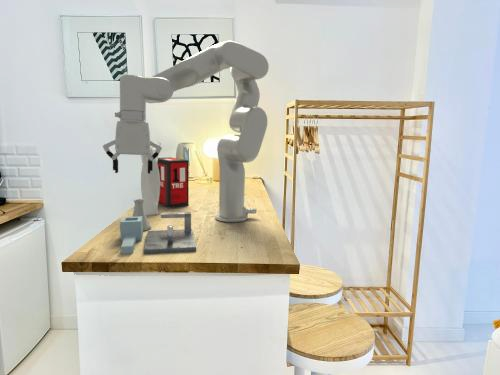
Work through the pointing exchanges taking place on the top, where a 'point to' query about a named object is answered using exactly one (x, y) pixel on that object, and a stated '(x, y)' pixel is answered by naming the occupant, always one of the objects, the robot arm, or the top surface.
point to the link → (130, 233)
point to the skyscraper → (150, 184)
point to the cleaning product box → (173, 182)
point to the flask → (141, 213)
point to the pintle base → (164, 247)
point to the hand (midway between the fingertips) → (133, 172)
